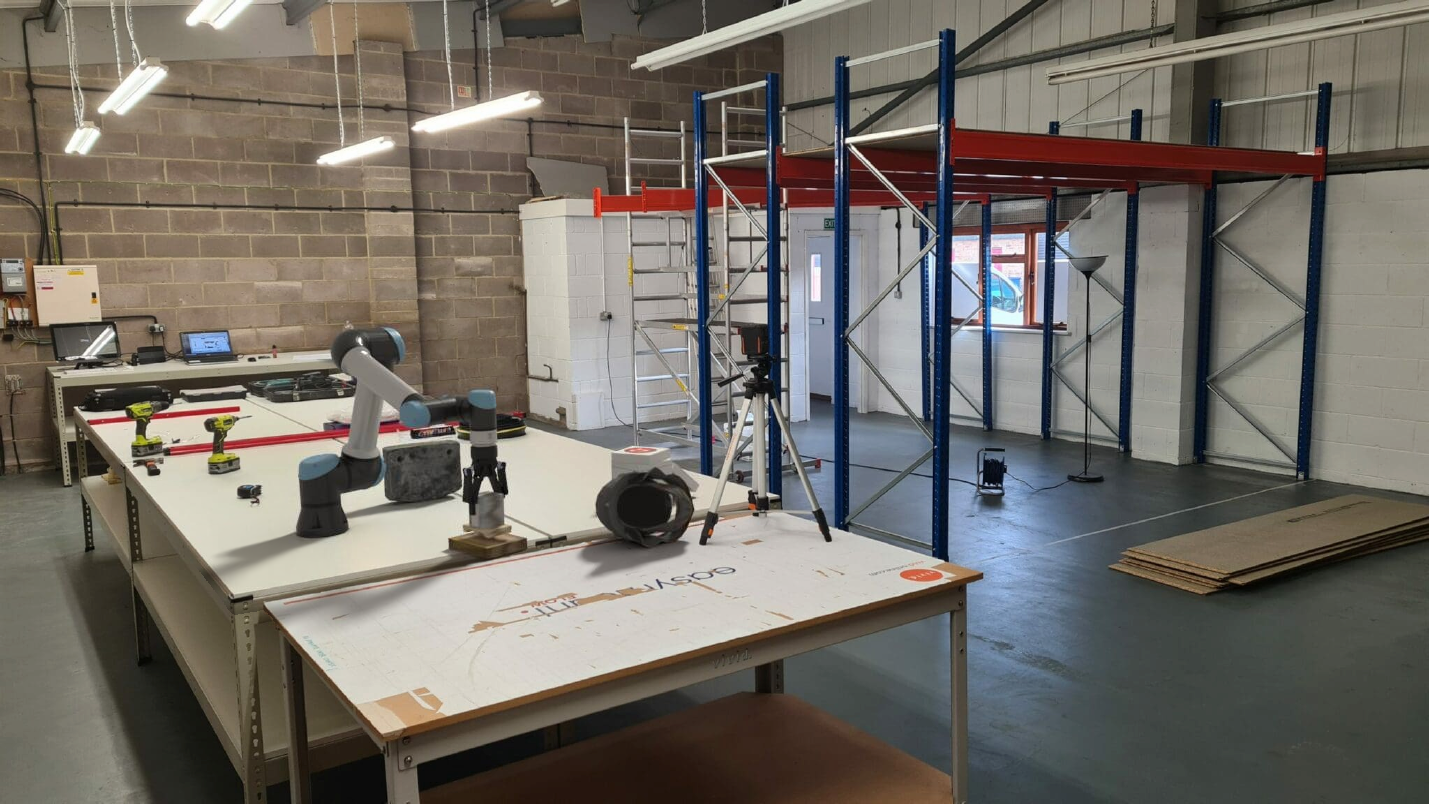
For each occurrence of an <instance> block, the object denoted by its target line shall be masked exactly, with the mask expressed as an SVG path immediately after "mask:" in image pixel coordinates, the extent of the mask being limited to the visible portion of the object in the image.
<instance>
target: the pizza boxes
mask: <svg viewBox="0 0 1429 804" xmlns="http://www.w3.org/2000/svg"><path fill="white" fill-rule="evenodd" d="M610 458H611V460H610V463H611V464H610V465H611V466H610V467H611V468H610V469H611V480H613V479H615V478H617V477H618V475H619V474H621V473H624V472H633V471H636V472H647V471H649V470H651V469H652V468H654V467H657V468H659V469H660V470H661V471H662V472H663V473H664V474H665V475H668V474H675V475H677V476H680V477H681V478H682V479H683V480H684V481H685V483H686V484H687V486H688V488H689V490H690V493H691V492H692V493H696V492H697V490H698V489H699V487H700V484H699V483H698V482H697V481H696V480H695V479H694V478H693V477H692V476H690V475H689V474H688V473H687V471H685V470H684V469H683V468H682V467H681V466H680V465H679V464H677V463H676V462H673V459H672V458H671V449H670V447H654V446H653V447H652V446H640V445H639V446H638V445H637V446H636V445H631V446H629V447H625V448H622V449H619V450H616V451H612V452H611V457H610ZM653 480H654V481H656V482H658V483H663V484H667V483H665V482H664V481H663V480H661V479H660V480H658V479H653ZM669 495H670V497H671V499H672V503H673V499H674V496H672V495H671V494H669Z"/></svg>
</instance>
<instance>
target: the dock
mask: <svg viewBox="0 0 1429 804" xmlns="http://www.w3.org/2000/svg"><path fill="white" fill-rule="evenodd" d="M447 540H448V543H447V544H448V549H449V550H452V551H457V552H461V553H464V554H467V555H470V556H475V557H478V558H482V559H485V560H490V559H494V558H498V557H501V556H504V555H509V554H513V553H516V552H520V551H523V550H525V549H528V537H524V536H519V535H515V534H512V533H507V534H503V535H499V536H495V537H491V538H486V537H485V534H481V535H474V531H471V532H467V533H465V534H460V535H456V536H452V537H448V538H447Z"/></svg>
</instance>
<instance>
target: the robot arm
mask: <svg viewBox="0 0 1429 804" xmlns="http://www.w3.org/2000/svg"><path fill="white" fill-rule="evenodd" d="M329 352H330V356H331V360H332V362H333V364H334V365H335V366H336V368H337V369H338V370H340V371H341V372H342V373H343V374H344V375H346V376H348V377H354V378H355V379H357V380H356V381H357V382H356V388H355V394H354V401H353V408H352V414H351V420H350V427H349V433H348V439H347V440H348V441H347V443H345V444H344V445H342V447H341V452H340V456H339V455H338V454H336V453H323V454H315V455H312V456H309V457H306V458H304V459H302V460H301V461H300V462H299V464H298V474H297V478H298V484H299V486H298V487H299V500H300V511H299V513H298V518H297V521H296V526H295V533H296V536H299V537H303V538H319V537H320V538H321V537H322V538H323V537H330V536H335V535H339V534H342V533H345V532H347V531H349V520H348V518H347V516H346V513H345V511H344V509H343V506H342V498H341V497H342V494H343V495H345V494H347V493H348V494H349V493H352V492H357V491H360V490H361V491H363V490H364V491H365V490H368V489H371V488H374V487H376V486H378V485H379V484H381V482H383V480H384V475H385V470H386V465H385V464H384V458H383V454H381V451H380V449H379V447H377V444H378V438H379V433H380V432H379V431H380V425H381V420H382V419H381V418H382V413H383V408H384V402H385V403H386V404H388V405H389V406H391V407H392V408H393V409H395V410H396V411H397V412H398V415H399V420H400V421H401V423H402V425H403V426H404V427H405V428H408V429H422V428H426V427H432V426H433V427H434V426H439V425H445V424H451V423H452V424H453V423H459V422H461V423H469V443H470V444H471V446H470V459H471V464H470V466H468V467H463V468H462V473H463V481H462V499H461V500H462V501H461V502H462V503H466V504H468V515H469V514H470V515H471V521H472V526H476V527H479V526H480V520H479V504H477V503H476V502H477V498H478V494H479V493H480V491H481V486H482V483H483V481H484V479H485V478H487V479H488V480H489V484H490V487H491V490H492V492H496V493H501V494H503V495H504V499H505V498H506V496H508V495H509V487H508V479H507V472H506V467H507V462H506V461H502V460H501V461H500V460H499V461H498V459H497V457H498V455H499V454H498V453H499V452H498V449H499V448H498V445H497V444H496V443H498V429H497V401H496V399H497V398H496V393H495V391H493V390H490V389H474V390H471V391H469V392H468V396H467V395H460V394H459V395H458V394H445V395H442V396H441V397H436V398H435V397H434V398H426V397H424V395H422V394H420V393H419V392H418V391H417V390H415V389H414V388H413V387H411V385H409V384H407V383H406V382H405V381H404V380H402V379H401V378H400V377H399V376H397V375H396V374H394V371H395V367H396V366H397V365H400V364H401V363H402V362H403V360H404V359H405V356H406V346H405V343H404V340H403V338H402V336H401V334H400V333H399V332H398V331H397V330H396V329H394V328H392V327H382V326H377V327H370V328H369V327H366V328H349V329H346V330H345V329H344V330H343V331H341V332H339V333H338V334H337V335H336V336H335V337H334V339H333V340H332V343H331V345H330V351H329ZM395 365H396V366H395Z"/></svg>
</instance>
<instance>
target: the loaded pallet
mask: <svg viewBox="0 0 1429 804" xmlns="http://www.w3.org/2000/svg"><path fill="white" fill-rule="evenodd" d="M476 503H477V504H479V520H480V526H479V527H476V526H472V521H471V515H470V514H469V513H468V521H469V523H464V524H462V529H463V532H464V533H472V532H474V535H481V534H485V537H486V538H491V537H495V536H499V535H503V534H507V533H508V534H512V529H513V527H512V525H510V524H506V523H505V498H504V495H503V494H501V493H496V492H493V491H492V490H486V491H481V492H480V491H479V494H478V498H477V502H476Z"/></svg>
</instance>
